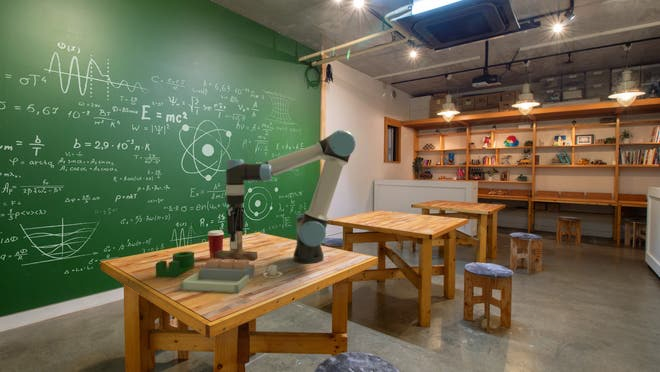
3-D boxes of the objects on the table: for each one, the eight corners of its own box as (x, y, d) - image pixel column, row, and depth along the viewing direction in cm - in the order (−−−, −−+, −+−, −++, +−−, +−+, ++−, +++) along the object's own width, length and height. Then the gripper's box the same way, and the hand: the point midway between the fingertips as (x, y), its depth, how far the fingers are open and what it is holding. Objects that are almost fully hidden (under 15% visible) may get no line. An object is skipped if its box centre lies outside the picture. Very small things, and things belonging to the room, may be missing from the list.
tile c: (221, 264, 137) (221, 258, 137) (216, 267, 132) (216, 261, 132) (211, 264, 138) (211, 258, 137) (206, 267, 133) (206, 261, 133)
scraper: (257, 258, 143) (257, 231, 143) (254, 261, 139) (253, 233, 139) (219, 256, 146) (219, 230, 145) (215, 259, 142) (214, 232, 141)
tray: (249, 282, 128) (249, 275, 128) (237, 293, 117) (237, 284, 117) (196, 280, 131) (196, 272, 131) (180, 290, 120) (180, 282, 120)
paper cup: (226, 257, 165) (226, 230, 164) (220, 261, 157) (219, 233, 157) (212, 256, 166) (211, 229, 165) (204, 261, 158) (204, 232, 157)
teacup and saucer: (267, 271, 143) (267, 262, 143) (285, 272, 142) (285, 263, 142) (260, 277, 135) (260, 268, 135) (278, 279, 133) (278, 269, 133)
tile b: (235, 265, 136) (235, 259, 136) (230, 268, 132) (230, 262, 132) (225, 264, 137) (225, 258, 137) (220, 267, 132) (220, 261, 132)
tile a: (248, 265, 135) (248, 259, 135) (244, 268, 131) (244, 262, 131) (238, 265, 136) (238, 259, 136) (234, 268, 132) (234, 262, 131)
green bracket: (179, 264, 153) (179, 251, 153) (198, 265, 152) (197, 251, 152) (156, 277, 135) (155, 262, 135) (176, 277, 134) (176, 262, 134)
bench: (254, 275, 137) (254, 264, 137) (246, 282, 128) (246, 271, 128) (210, 273, 140) (210, 262, 140) (199, 280, 131) (198, 269, 131)
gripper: (235, 192, 150) (236, 242, 151) (217, 195, 133) (218, 251, 134) (250, 193, 149) (251, 243, 150) (235, 196, 132) (236, 252, 133)
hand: (236, 247), depth 142 cm, fingers closed on scraper, 4 cm apart
